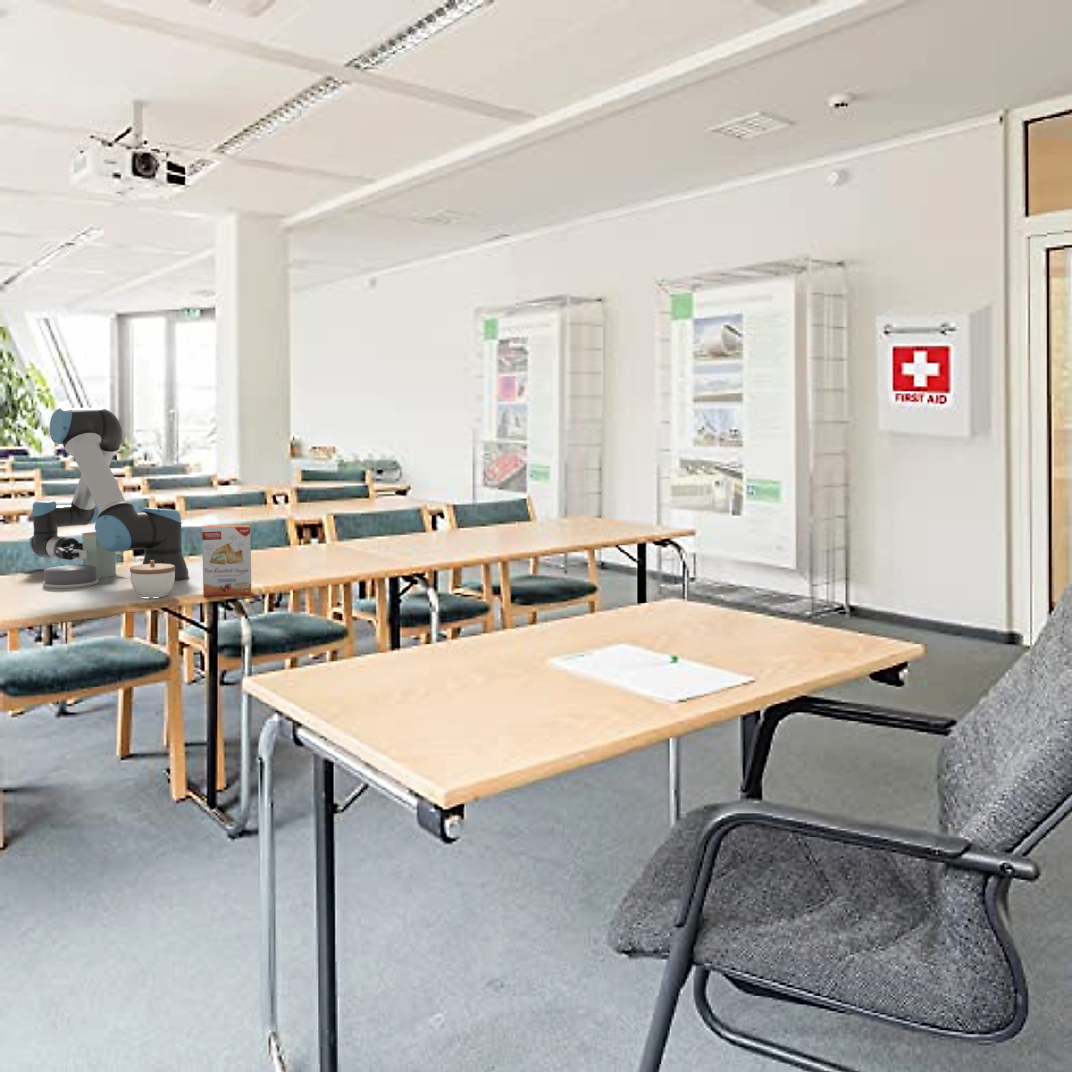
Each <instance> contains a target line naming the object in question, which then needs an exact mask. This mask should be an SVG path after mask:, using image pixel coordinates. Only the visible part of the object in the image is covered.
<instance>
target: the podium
mask: <svg viewBox="0 0 1072 1072" xmlns="http://www.w3.org/2000/svg"><path fill="white" fill-rule="evenodd" d="M43 573H44V575H43V576H44V581H43V582H42V587H44V588H46V587H49V588H48V589H77V587H79V588H86V587H92V586H95V585H98V584H99V578H96V567H95V566H89V565H84V564H71V565H69V564H68V565H59V566H52V567H47V568H45V569H44V570H43Z"/></svg>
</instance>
